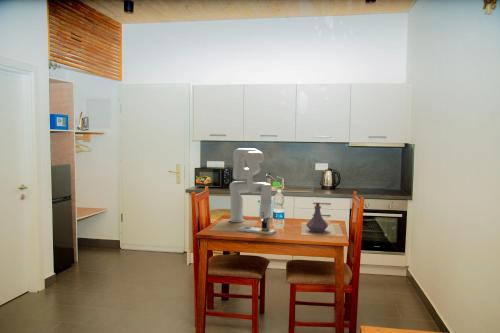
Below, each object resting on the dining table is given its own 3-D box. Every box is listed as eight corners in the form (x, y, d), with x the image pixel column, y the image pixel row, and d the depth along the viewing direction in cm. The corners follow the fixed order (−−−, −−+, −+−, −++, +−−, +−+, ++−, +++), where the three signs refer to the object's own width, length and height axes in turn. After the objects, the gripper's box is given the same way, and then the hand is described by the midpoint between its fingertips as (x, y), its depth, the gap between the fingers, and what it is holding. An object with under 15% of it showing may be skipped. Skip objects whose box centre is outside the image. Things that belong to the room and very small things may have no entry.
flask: (302, 228, 289) (303, 201, 288) (324, 228, 292) (325, 201, 290) (309, 233, 273) (309, 205, 272) (332, 233, 275) (332, 204, 274)
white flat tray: (243, 228, 288) (243, 225, 288) (276, 232, 277) (276, 229, 276) (237, 230, 280) (237, 228, 280) (270, 234, 268) (270, 232, 268)
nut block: (264, 229, 278) (264, 218, 277) (269, 230, 276) (269, 218, 276) (261, 230, 274) (261, 219, 274) (266, 231, 272) (267, 219, 272)
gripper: (265, 199, 283) (265, 224, 284) (255, 202, 268) (255, 229, 269) (275, 200, 280) (275, 225, 281) (265, 203, 265) (265, 230, 266)
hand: (265, 227), depth 275 cm, fingers closed on nut block, 4 cm apart
